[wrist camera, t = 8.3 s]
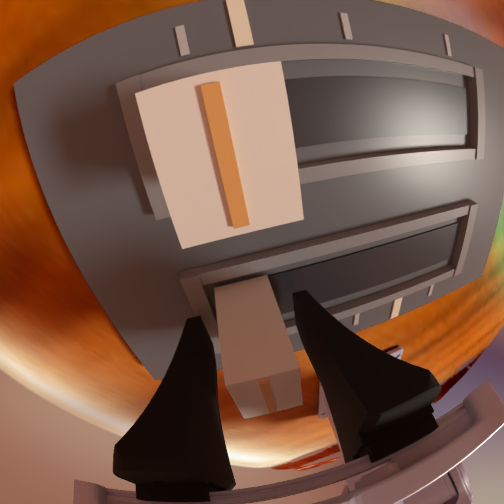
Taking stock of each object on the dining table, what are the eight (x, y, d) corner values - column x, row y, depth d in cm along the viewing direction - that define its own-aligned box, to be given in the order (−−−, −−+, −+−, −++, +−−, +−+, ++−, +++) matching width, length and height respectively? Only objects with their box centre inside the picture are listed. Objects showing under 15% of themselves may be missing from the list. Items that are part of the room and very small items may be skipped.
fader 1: (257, 161, 9) (305, 221, 5) (191, 177, 9) (182, 251, 5) (241, 80, 8) (282, 60, 4) (170, 97, 8) (133, 93, 3)
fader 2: (275, 320, 14) (303, 406, 9) (229, 331, 14) (244, 420, 9) (267, 275, 12) (300, 369, 8) (214, 287, 12) (225, 387, 8)
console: (473, 268, 18) (485, 280, 16) (156, 365, 16) (155, 387, 15) (491, 46, 8) (510, 49, 6) (28, 83, 7) (5, 84, 5)
